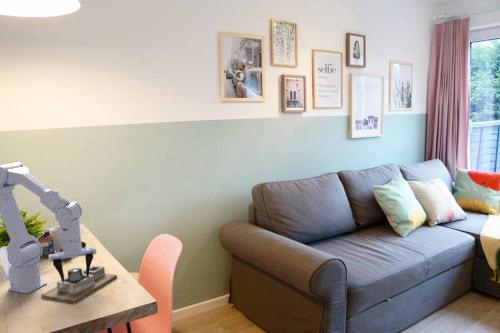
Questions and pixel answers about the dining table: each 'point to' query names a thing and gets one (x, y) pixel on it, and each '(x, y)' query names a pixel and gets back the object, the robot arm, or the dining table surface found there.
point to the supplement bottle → (46, 244)
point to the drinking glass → (57, 238)
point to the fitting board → (80, 286)
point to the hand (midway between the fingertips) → (75, 277)
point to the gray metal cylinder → (75, 275)
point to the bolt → (69, 258)
